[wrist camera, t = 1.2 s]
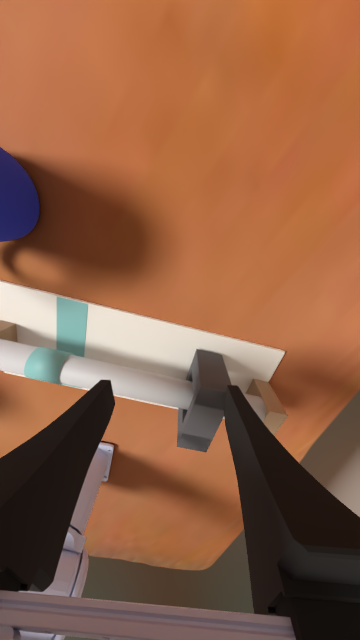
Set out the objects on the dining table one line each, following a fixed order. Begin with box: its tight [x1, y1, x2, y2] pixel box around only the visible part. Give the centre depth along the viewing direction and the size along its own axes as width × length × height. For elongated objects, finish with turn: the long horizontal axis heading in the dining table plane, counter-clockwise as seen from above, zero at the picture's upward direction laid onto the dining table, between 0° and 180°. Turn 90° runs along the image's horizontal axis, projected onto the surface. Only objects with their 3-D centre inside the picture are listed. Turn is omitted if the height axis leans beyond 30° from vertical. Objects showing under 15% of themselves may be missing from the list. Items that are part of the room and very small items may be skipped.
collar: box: [177, 349, 232, 452], centre depth 20 cm, size 8×3×6 cm, turn 165°
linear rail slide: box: [0, 280, 288, 435], centre depth 20 cm, size 12×32×5 cm, turn 75°
